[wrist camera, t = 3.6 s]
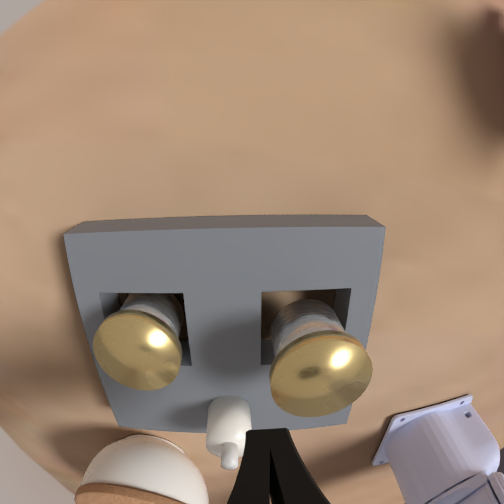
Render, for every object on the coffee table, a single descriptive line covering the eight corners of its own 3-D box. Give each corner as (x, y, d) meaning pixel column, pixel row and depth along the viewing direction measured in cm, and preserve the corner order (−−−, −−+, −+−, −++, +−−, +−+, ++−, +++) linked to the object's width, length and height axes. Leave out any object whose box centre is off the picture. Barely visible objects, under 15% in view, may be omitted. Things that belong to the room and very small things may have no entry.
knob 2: (349, 289, 16) (381, 336, 12) (338, 358, 17) (361, 410, 13) (263, 293, 16) (272, 345, 12) (262, 363, 17) (269, 420, 13)
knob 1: (186, 278, 17) (173, 319, 13) (193, 344, 19) (185, 392, 15) (112, 278, 17) (83, 316, 13) (126, 342, 19) (105, 386, 15)
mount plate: (366, 215, 17) (385, 227, 15) (338, 400, 22) (346, 423, 19) (83, 221, 16) (63, 234, 14) (126, 403, 21) (119, 426, 19)
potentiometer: (249, 394, 18) (253, 452, 14) (250, 421, 19) (254, 476, 15) (206, 395, 18) (202, 453, 14) (210, 422, 19) (207, 476, 14)
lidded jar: (80, 443, 23) (53, 518, 14) (131, 398, 21) (100, 501, 12) (170, 489, 26) (161, 562, 17) (237, 456, 24) (240, 548, 15)
